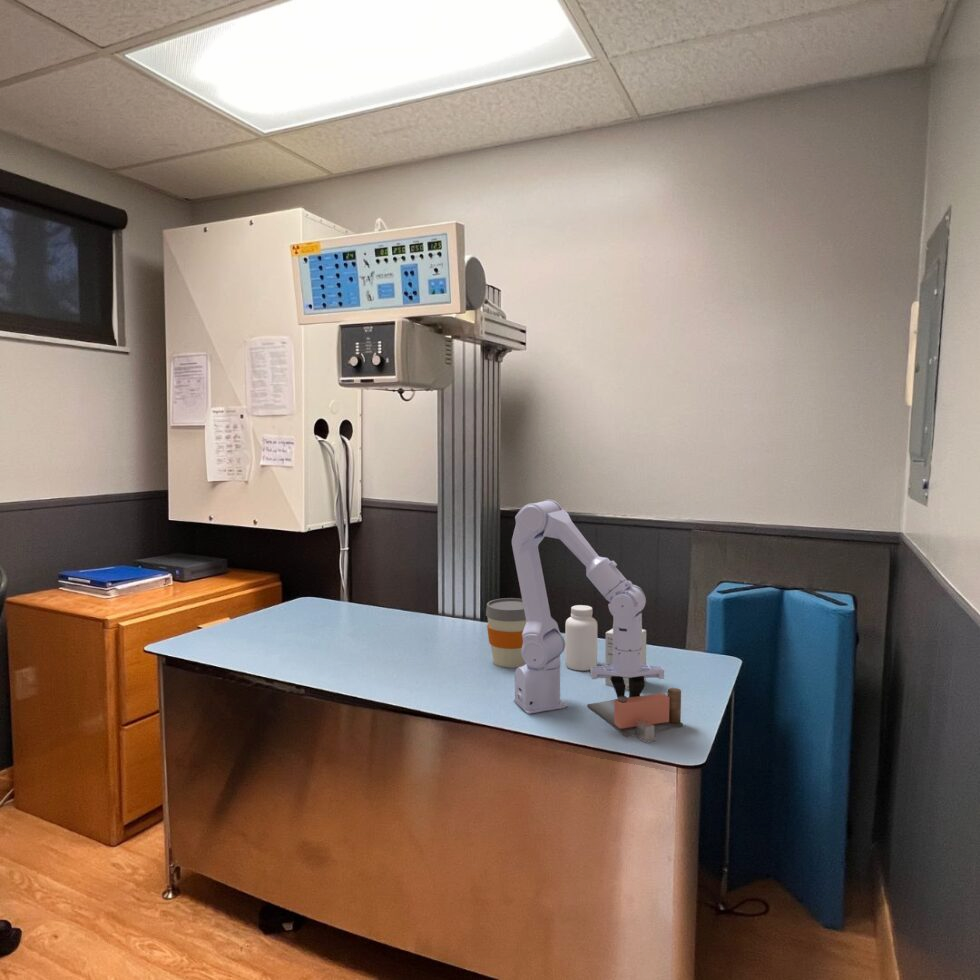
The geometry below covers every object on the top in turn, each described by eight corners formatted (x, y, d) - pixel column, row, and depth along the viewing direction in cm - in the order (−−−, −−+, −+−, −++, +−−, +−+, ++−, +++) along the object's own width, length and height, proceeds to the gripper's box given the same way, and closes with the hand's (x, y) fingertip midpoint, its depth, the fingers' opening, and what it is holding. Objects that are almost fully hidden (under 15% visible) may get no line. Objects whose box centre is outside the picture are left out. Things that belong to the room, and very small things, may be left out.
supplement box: (618, 675, 167) (618, 624, 166) (646, 681, 162) (647, 629, 161) (604, 684, 161) (604, 631, 160) (633, 691, 156) (634, 637, 155)
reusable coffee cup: (519, 673, 169) (519, 613, 167) (476, 664, 175) (476, 606, 174) (543, 658, 179) (543, 601, 178) (502, 650, 186) (502, 595, 185)
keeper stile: (645, 742, 131) (645, 727, 131) (636, 736, 134) (636, 721, 134) (654, 740, 132) (654, 725, 132) (645, 734, 135) (645, 719, 134)
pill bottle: (599, 662, 176) (599, 604, 175) (595, 672, 168) (595, 612, 167) (568, 659, 178) (568, 602, 177) (562, 670, 171) (563, 610, 169)
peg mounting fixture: (626, 737, 134) (626, 702, 133) (585, 705, 149) (585, 673, 148) (683, 725, 138) (684, 692, 138) (637, 696, 154) (638, 665, 153)
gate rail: (669, 721, 138) (669, 694, 137) (619, 728, 135) (620, 700, 134) (662, 716, 140) (663, 689, 139) (614, 723, 137) (614, 695, 136)
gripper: (658, 640, 143) (657, 704, 144) (588, 641, 143) (588, 704, 144) (667, 651, 136) (666, 718, 137) (593, 652, 136) (593, 718, 137)
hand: (626, 712), depth 140 cm, fingers closed
